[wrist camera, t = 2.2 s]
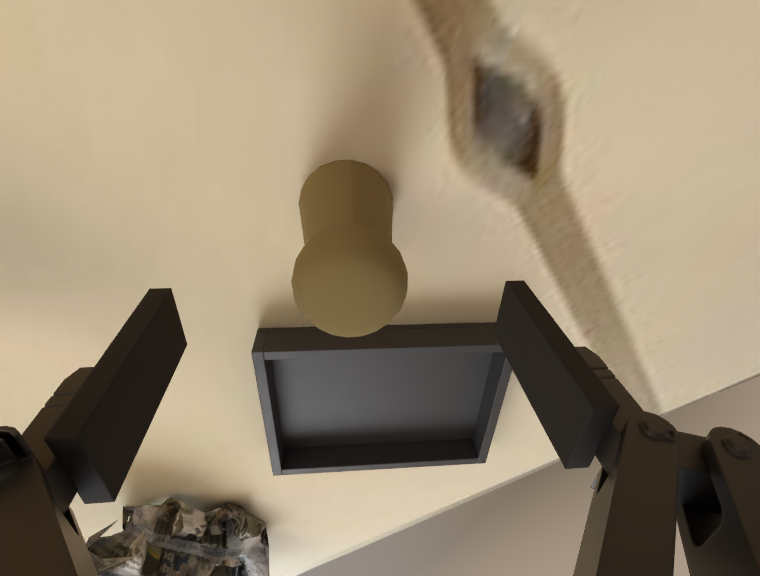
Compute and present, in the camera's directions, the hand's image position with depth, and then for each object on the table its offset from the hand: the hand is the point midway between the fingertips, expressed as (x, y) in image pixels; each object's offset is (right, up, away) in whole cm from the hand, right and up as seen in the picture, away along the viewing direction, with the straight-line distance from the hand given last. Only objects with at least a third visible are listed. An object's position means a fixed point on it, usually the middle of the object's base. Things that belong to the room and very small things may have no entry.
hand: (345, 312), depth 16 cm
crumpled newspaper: (-18, -24, +28) cm, 41 cm away
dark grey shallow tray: (+2, -8, +19) cm, 21 cm away
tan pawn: (-1, +6, +10) cm, 12 cm away
